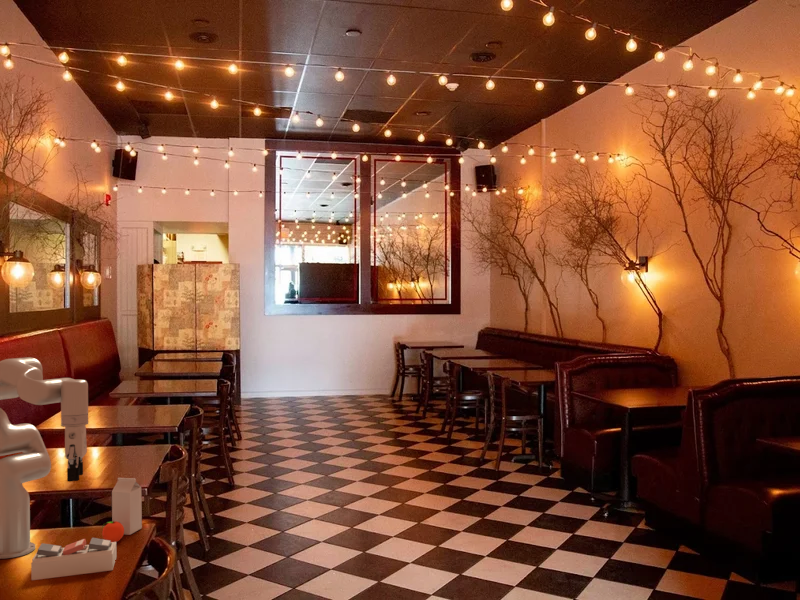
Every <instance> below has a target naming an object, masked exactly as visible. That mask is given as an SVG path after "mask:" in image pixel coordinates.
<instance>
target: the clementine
mask: <svg viewBox="0 0 800 600" xmlns="http://www.w3.org/2000/svg"><path fill="white" fill-rule="evenodd" d="M101 528H102V532H101V536H102V539H105V540H111V542H116V543H117V542H119V541H121V539H122V538H123V537H124V535H125V534H124V527H123V525H122V524H121V523H119V522H117V521H113V522H112V520H111V521H107V522H106V523H104V525H102V526H101Z"/></svg>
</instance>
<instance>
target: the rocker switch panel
mask: <svg viewBox="0 0 800 600" xmlns="http://www.w3.org/2000/svg"><path fill="white" fill-rule="evenodd" d="M88 547H89V544H86V545H85V547H84V549H82V550H79V551H76V552H74V553H71V554H69V555H64V554H63V550H64V548H65V547H61V550H60V552H59V554H58V556H46V555H39V554H37V552H36V553H35V555H34V556H33V557H32V561H31V563H30V565H31V567H30V569H31V577H30V578H31V581H36V580H37V581H38V580H43V579H44V580H45V579H52V578H60V577H61V578H62V577H68V576H69V577H70V576H77V575H83V574H93V573H101V572H107V571H113V570H114V566H115V564H116V561H117V542H110V546H109V548H108V550H97V549H90V548H88ZM115 560H116V561H115Z"/></svg>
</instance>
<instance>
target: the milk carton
mask: <svg viewBox="0 0 800 600" xmlns="http://www.w3.org/2000/svg"><path fill="white" fill-rule="evenodd" d="M142 501H143V499H142V486H141V485H140V484H139V483H138V482H137V479H136V478H135V477H134V478H132V477H131V478H129V477H128V478H127V477H117V481H116V483H115V485H114V487H113V488H112V491H111V511H112V512H111V515H112V516H111V518H112V519H111V521H112V522H113V521H117V522H119V523H121V524H122V525H123V527H124V534H123V535H127V536H129V535H130V536H131V535H132V534H134V533H136V532H137V531H139V530H141V529H142V528H143V522H142V521H143V520H142V519H143V517H142V516H143V515H142V514H143V513H142V512H143V511H142V510H143V509H142Z"/></svg>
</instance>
